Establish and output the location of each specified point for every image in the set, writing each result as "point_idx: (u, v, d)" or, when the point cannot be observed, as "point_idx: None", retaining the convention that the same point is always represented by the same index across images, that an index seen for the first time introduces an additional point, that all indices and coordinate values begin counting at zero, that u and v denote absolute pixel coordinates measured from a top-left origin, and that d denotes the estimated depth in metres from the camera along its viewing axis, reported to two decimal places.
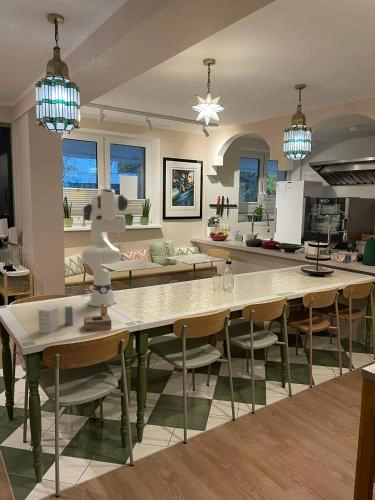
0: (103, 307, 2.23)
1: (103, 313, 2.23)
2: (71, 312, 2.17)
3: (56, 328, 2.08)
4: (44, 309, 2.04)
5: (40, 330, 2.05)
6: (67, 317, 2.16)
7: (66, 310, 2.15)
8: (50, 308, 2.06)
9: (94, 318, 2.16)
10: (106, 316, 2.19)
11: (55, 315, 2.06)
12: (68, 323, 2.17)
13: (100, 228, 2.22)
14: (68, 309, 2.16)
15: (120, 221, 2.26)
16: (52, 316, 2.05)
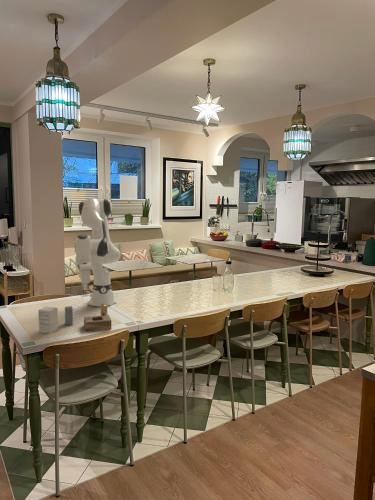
0: (103, 307, 2.23)
1: (103, 313, 2.23)
2: (71, 312, 2.17)
3: (56, 328, 2.08)
4: (44, 309, 2.04)
5: (40, 330, 2.05)
6: (67, 317, 2.16)
7: (66, 310, 2.15)
8: (50, 308, 2.06)
9: (94, 318, 2.16)
10: (106, 316, 2.19)
11: (55, 315, 2.06)
12: (68, 323, 2.17)
13: None
14: (68, 309, 2.16)
15: None
16: (52, 316, 2.05)
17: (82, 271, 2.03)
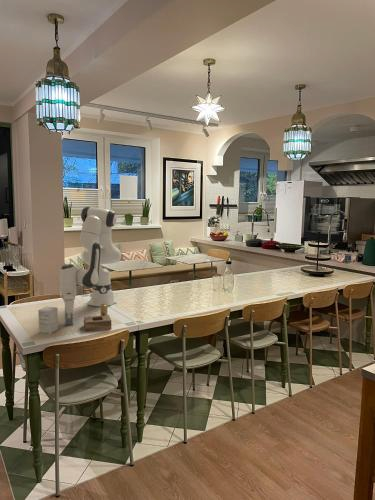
0: (103, 307, 2.23)
1: (103, 313, 2.23)
2: None
3: (56, 328, 2.08)
4: (44, 309, 2.04)
5: (40, 330, 2.05)
6: None
7: None
8: (50, 308, 2.06)
9: (94, 318, 2.16)
10: (106, 316, 2.19)
11: (55, 315, 2.06)
12: (68, 323, 2.17)
13: None
14: None
15: None
16: (52, 316, 2.05)
17: (66, 301, 2.08)
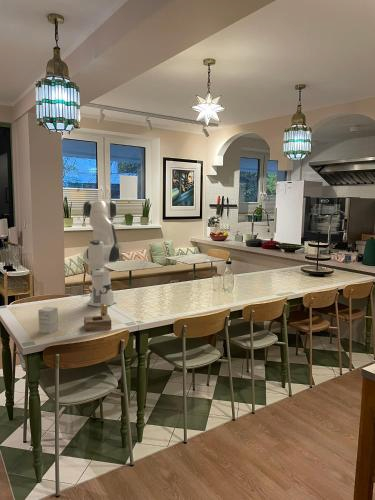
0: (103, 307, 2.23)
1: (103, 313, 2.23)
2: None
3: (56, 328, 2.08)
4: (44, 309, 2.04)
5: (40, 330, 2.05)
6: (95, 295, 2.10)
7: None
8: (50, 308, 2.06)
9: (94, 318, 2.16)
10: (106, 316, 2.19)
11: (55, 315, 2.06)
12: (96, 301, 2.11)
13: None
14: None
15: None
16: (52, 316, 2.05)
17: (95, 277, 2.02)
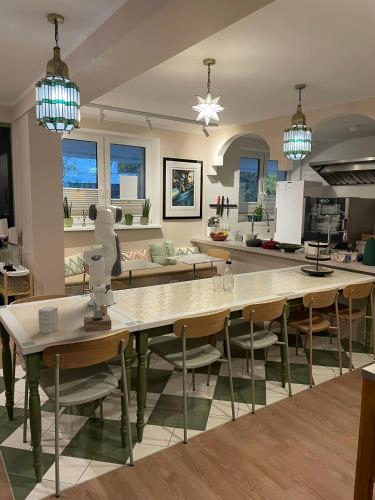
0: (103, 307, 2.23)
1: (103, 313, 2.23)
2: None
3: (56, 328, 2.08)
4: (44, 309, 2.04)
5: (40, 330, 2.05)
6: (96, 310, 2.11)
7: None
8: (50, 308, 2.06)
9: (94, 318, 2.16)
10: (106, 316, 2.19)
11: (55, 315, 2.06)
12: (97, 316, 2.12)
13: None
14: None
15: None
16: (52, 316, 2.05)
17: (96, 293, 2.03)
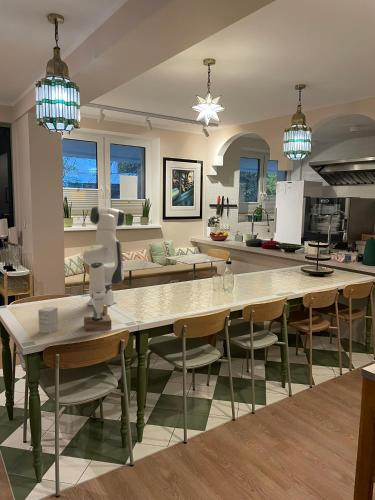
0: (103, 307, 2.23)
1: (103, 313, 2.23)
2: (100, 313, 2.12)
3: (56, 328, 2.08)
4: (44, 309, 2.04)
5: (40, 330, 2.05)
6: (95, 318, 2.12)
7: (95, 311, 2.11)
8: (50, 308, 2.06)
9: None
10: (106, 316, 2.19)
11: (55, 315, 2.06)
12: None
13: None
14: None
15: None
16: (52, 316, 2.05)
17: (96, 300, 2.04)
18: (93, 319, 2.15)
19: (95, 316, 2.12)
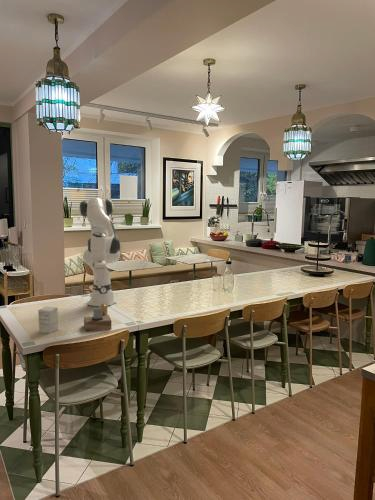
0: (103, 307, 2.23)
1: (103, 313, 2.23)
2: (100, 313, 2.12)
3: (56, 328, 2.08)
4: (44, 309, 2.04)
5: (40, 330, 2.05)
6: (95, 318, 2.12)
7: (95, 311, 2.11)
8: (50, 308, 2.06)
9: None
10: (106, 316, 2.19)
11: (55, 315, 2.06)
12: None
13: None
14: (97, 310, 2.12)
15: None
16: (52, 316, 2.05)
17: (97, 269, 2.05)
18: (93, 319, 2.15)
19: (95, 316, 2.12)
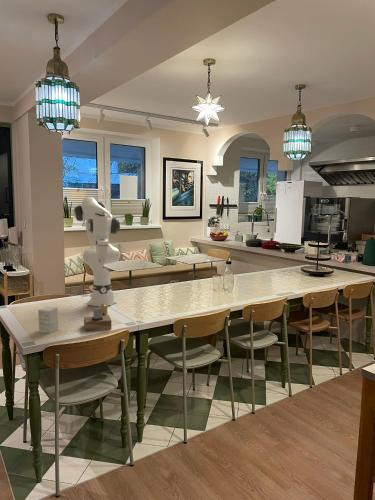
0: (103, 307, 2.23)
1: (103, 313, 2.23)
2: (100, 313, 2.12)
3: (56, 328, 2.08)
4: (44, 309, 2.04)
5: (40, 330, 2.05)
6: (95, 318, 2.12)
7: (95, 311, 2.11)
8: (50, 308, 2.06)
9: None
10: (106, 316, 2.19)
11: (55, 315, 2.06)
12: None
13: None
14: (97, 310, 2.12)
15: None
16: (52, 316, 2.05)
17: (100, 246, 2.12)
18: (93, 319, 2.15)
19: (95, 316, 2.12)
